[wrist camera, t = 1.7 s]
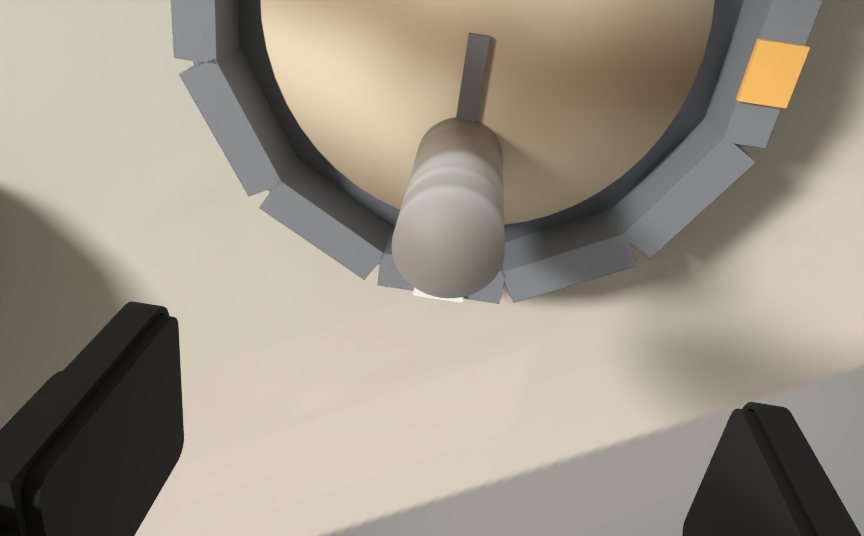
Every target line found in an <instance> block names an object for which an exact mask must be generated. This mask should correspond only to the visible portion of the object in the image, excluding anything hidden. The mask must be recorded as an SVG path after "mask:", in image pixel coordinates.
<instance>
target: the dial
mask: <svg viewBox="0 0 864 536" xmlns="http://www.w3.org/2000/svg"><path fill="white" fill-rule="evenodd" d="M260 1H261V20H262V26H263V31H264V37H265V43H266V48H267V52H268V55H269V59H270V62H271V65H272V69H273V72H274V75H275V78H276V81H277V83H278V85H279V87H280V90H281V92H282V94H283V97H284V99H285V101H286V103H287V105H288V107H289V109H290V110H291V112H292V114H293V115H294V117H295V119H296V120H297V122H298V124H299V126H300V127H301V129H302V130H303V131H304V133H305V134H306V135H307V137H308V138H309V139H310V141H311V142H312V143H313V144H314V146H315V147H316V148H317V150H318V151H319V152H320V153H321V154H322V155H323V156H324V157H325V158H326V159H327V160H328V161H329V162H330V163H331V164H332V165H333V166H334V167H335V168H336V169H337V170H338V171H339V172H341V173H342V174H343V175H344V176H345V177H347V178H348V179H349V180H350V181H352V182H353V183H354V184H355V185H357V186H358V187H360V188H361V189H363V190H365V191H366V192H368V193H369V194H371V195H372V196H374V197H375V198H377V199H379V200H381V201H383V202H385V203H387V204H389V205H391V206H394V207H396V208H398V209H400V213H399V216H398V220H397V223H396V227H395V230H394V233H393V238H392V255H393V259H394V262H395V265H396V267H397V269H398V271H399V272H400V274H401V275H402V276H403V278H404V279H405V280H406V281H407V282H408V283H409V284H411V285H412V286H413V287H414V288H416V289H418V290H419V291H421V292H423V293H426V294H428V295H431V296H435V297H440V298H460V297H465V296H469V295H471V294H474V293H476V292H478V291H480V290H482V289H483V288H485V287H486V286H487V285H488V284H490V283H491V282H492V281H493V279H494V278H495V277H496V276H497V274H498V273H499V271H500V269H501V267H502V264H503V261H504V256H505V232H504V225H505V224H512V223H519V222H526V221H530V220H533V219H537V218H541V217H545V216H548V215H552V214H554V213H557V212H559V211H562V210H564V209H567V208H569V207H572V206H574V205H576V204H578V203H580V202H582V201H584V200H586V199H588V198H589V197H591V196H593V195H595V194H597V193H599V192H600V191H602V190H603V189H604V188H606V187H607V186H609V185H610V184H612V183H613V182H614V181H616V180H617V179H619V178H620V177H622V176H623V175H624V174H625V173H626V172H627V171H628V170H629V169H630V168H632V167H633V166H634V165H635V164H636V163H637V162H638V161H639V160H641V159H642V158H643V157H644V156H645V154H646V153H647V152H648V151H649V150H650V149H651V148H652V146H653V145H654V144H655V143H656V142H657V141H658V140H659V139H660V137H661V136H662V135H663V133H664V132H665V131H666V129H667V128H668V126H669V125H670V123H671V122H672V121H673V119H674V118H675V116H676V115H677V113H678V112H679V110H680V108H681V106H682V104H683V102H684V101H685V99H686V97H687V95H688V93H689V91H690V89H691V87H692V86H693V83H694V80H695V78H696V75H697V73H698V70H699V67H700V65H701V62H702V60H703V57H704V53H705V49H706V45H707V41H708V38H709V34H710V30H711V25H712V17H713V9H714V1H715V0H260Z"/></svg>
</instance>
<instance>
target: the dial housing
mask: <svg viewBox="0 0 864 536" xmlns="http://www.w3.org/2000/svg"><path fill="white" fill-rule="evenodd" d="M822 1H823V0H715V1H714V9H713V17H712V25H711V30H710V34H709V38H708V41H707V45H706V49H705V53H704V57H703V60H702V62H701V65H700V67H699V70H698V73H697V75H696V78H695V80H694V83H693V86H692V87H691V89H690V91H689V93H688V95H687V97H686V99H685V101H684V102H683V104H682V106H681V108H680V110H679V112H678V113H677V115H676V116H675V118H674V119H673V121H672V122H671V123H670V125H669V126H668V128H667V129H666V131H665V132H664V133H663V135H662V136H661V137H660V139H659V140H658V141H657V142H656V143H655V144H654V145H653V146H652V148H651V149H650V150H649V151H648V152H647V153H646V154H645V156H644V157H643V158H642V159H641V160H639V161H638V162H637V163H636V164H635V165H634V166H633V167H632V168H630V169H629V170H628V171H627V172H626V173H625V174H624V175H623V176H622V177H620V178H619V179H617V180H616V181H614V182H613V183H612V184H610V185H609V186H607V187H606V188H604V189H603V190H602V191H600V192H599V193H597V194H595V195H593V196H591V197H589V198H588V199H586V200H584V201H582V202H580V203H578V204H576V205H574V206H572V207H569V208H567V209H564V210H562V211H559V212H557V213H554V214H552V215H548V216H545V217H541V218H537V219H533V220H530V221H526V222H519V223H512V224H505V225H504V232H505V256H504V261H503V264H502V267H501V269H500V271H499V273H498V274H497V276H496V277H495V278H494V279H493V281H492V282H491V283H490V284H488V285H487V286H486V287H485V288H483V289H482V290H480V291H478V292H476V293H474V294H471V295H469V296H465V297H460V298H440V297H435V296H431V295H428V294H426V293H423V292H421V291H419V290H418V289H416V288H414V287H413V286H412V285H411V284H409V283H408V282H407V281H406V280H405V279H404V278H403V276H402V275H401V274H400V272H399V271H398V269H397V267H396V265H395V262H394V259H393V255H392V238H393V233H394V230H395V227H396V223H397V220H398V216H399V213H400V209H398V208H396V207H394V206H391V205H389V204H387V203H385V202H383V201H381V200H379V199H377V198H375V197H374V196H372V195H371V194H369V193H368V192H366V191H365V190H363V189H361V188H360V187H358V186H357V185H355V184H354V183H353V182H352V181H350V180H349V179H348V178H347V177H345V176H344V175H343V174H342V173H341V172H339V171H338V170H337V169H336V168H335V167H334V166H333V165H332V164H331V163H330V162H329V161H328V160H327V159H326V158H325V157H324V156H323V155H322V154H321V153H320V152H319V151H318V150H317V148H316V147H315V146H314V144H313V143H312V142H311V141H310V139H309V138H308V137H307V135H306V134H305V133H304V131H303V130H302V129H301V127H300V126H299V124H298V122H297V120H296V119H295V117H294V115H293V114H292V112H291V110H290V109H289V107H288V105H287V103H286V101H285V99H284V97H283V94H282V92H281V90H280V87H279V85H278V83H277V81H276V78H275V75H274V72H273V69H272V65H271V62H270V59H269V55H268V52H267V48H266V43H265V37H264V31H263V26H262V20H261V1H260V0H171V11H172V30H173V49H174V58H178V59H184V60H191V61H193V63H194V66H192V67H190V68H189V69H187V70H185V71H184V72H182V73H180V74H179V75H180V77H181V79H182V81H183V82H184V84H185V86H186V88H187V89H188V91H189V93H190V95H191V96H192V98H193V100H194V102H195V103H196V105H197V107H198V109H199V110H200V112H201V114H202V116H203V117H204V119H205V121H206V123H207V124H208V126H209V128H210V130H211V131H212V133H213V135H214V137H215V138H216V140H217V142H218V144H219V145H220V147H221V149H222V151H223V152H224V154H225V156H226V158H227V159H228V161H229V163H230V165H231V166H232V168H233V170H234V172H235V173H236V175H237V177H238V179H239V180H240V182H241V184H242V186H243V187H244V189H245V191H246V193H247V194H248V196H252V195H255V194H257V193H260V192H263V191H265V190H269V191H270V193H269V195H268V196H267V197H266V199H265V200H264V202H263V203H262V204H261V206H260V207H259V208H260V209H261V210H263V211H264V212H266V213H267V214H269V215H270V216H272V217H273V218H275V219H276V220H278V221H279V222H280V223H282V224H283V225H285V226H286V227H288V228H289V229H291V230H292V231H294V232H295V233H297V234H298V235H299V236H301V237H302V238H304V239H305V240H307V241H308V242H310V243H311V244H313V245H314V246H315V247H317V248H318V249H320V250H321V251H323V252H324V253H326V254H327V255H329V256H330V257H332V258H333V259H334V260H336V261H337V262H339V263H340V264H342V265H343V266H345V267H346V268H348V269H349V270H350V271H352V272H353V273H355V274H356V275H358V276H359V277H361V278H362V279H364V280H365V279H366V277H367V276H368V275H369V274H370V273H371V271H372V270H373V269H374V268H375V267H376V266H377V264H379V265H380V266H379V275H378V285H380V286H386V287H393V288H399V289H406V290H412V291H414V293H413V295H415V296H421V297H428V298H434V299H440V300H447V301H453V302H460V303H462V301H463V298H464V299H470V300H477V301H483V302H490V303H496V304H499V303H500V298H501V294H502V289H503V284H504V283H505V284H506V286H507V288H508V291H509V293H510V296H511V298H512V301H513V303H515V302H518V301H522V300H525V299H528V298H532V297H535V296H538V295H542V294H545V293H548V292H552V291H555V290H558V289H562V288H565V287H568V286H572V285H575V284H578V283H582V282H585V281H588V280H592V279H595V278H598V277H602V276H605V275H608V274H612V273H615V272H618V271H621V270H625V269H628V268H631V267H635V266H636V262H635V259H634V256H633V253H632V250H631V246H633V245H634V246H635V247H636V248H637V249H639V250H640V251H641V252H643V253H644V254H645V255H646V256H648V257H649V258H651V257H652V256H653V255H654V254H655V253H657V252H658V251H659V250H660V249H661V248H662V247H663V246H664V245H665V244H666V243H668V242H669V241H670V240H671V239H672V238H673V237H674V236H675V235H676V234H677V233H678V232H680V231H681V230H682V229H683V228H684V227H685V226H686V225H687V224H688V223H689V222H691V221H692V220H693V219H694V218H695V217H696V216H697V215H698V214H699V213H700V212H702V211H703V210H704V209H705V208H706V207H707V206H708V205H709V204H710V203H711V202H713V201H714V200H715V199H716V198H717V197H718V196H719V195H720V194H721V193H722V192H724V191H725V190H726V189H727V188H728V187H729V186H730V185H731V184H732V183H733V182H735V181H736V180H737V179H738V178H739V177H740V176H741V175H742V174H743V173H744V172H745V171H747V170H748V169H749V168H750V167H751V166H752V165H753V164H754V163H755V161H754V160H753V159H752V158H751V157H750V156H749V155H748V154H747V153H746V152H745V151H744V150H743V149H742V148H743V147H744V146H745V145H748V146H754V147H761V148H766V145H767V143H768V140H769V138H770V135H771V132H772V130H773V127H774V125H775V122H776V120H777V117H778V114H779V112H780V109H781V108H787V105H788V103H789V100H790V98H791V95H792V93H793V90H794V87H795V85H796V82H797V80H798V77H799V75H800V72H801V70H802V67H803V65H804V62H805V59H806V57H807V54H808V52H809V49H810V47H808V46H805V45H806V42H807V40H808V37H809V35H810V32H811V29H812V27H813V24H814V22H815V19H816V16H817V14H818V11H819V9H820V6H821V4H822Z"/></svg>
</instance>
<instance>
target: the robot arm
mask: <svg viewBox="0 0 864 536" xmlns="http://www.w3.org/2000/svg"><path fill="white" fill-rule="evenodd" d="M183 443H184V430H183V409H182V389H181V369H180V349H179V329H178V321H177V319H176V318H175V317H171V316H169V313H168V310H167V308H165V307H163V306H157V305H151V304H145V303H139V302H129V303H127V304H126V305H125V306H124V307H123V308H122V309H121V310H120V311H119V312H118V313H117V314H116V315H115V316H114V317H113V319H112V320H111V321H110V322H109V323H108V324H107V325H106V326H105V327H104V328H103V329H102V330H101V331H100V332H99V333H98V334H97V335H96V337H95V338H94V339H93V340H92V341H91V342H90V343H89V344H88V345H87V346H86V347H85V348H84V349H83V350H82V351H81V352H80V353H79V355H78V356H77V357H76V358H75V359H74V360H73V361H72V362H71V363H70V364H69V365H68V366H67V367H66V368H65V369H64V370H63V371H61V372H57V373H56V374H55V375H54V376H52V377H51V378H50V379H49V380H48V381H47V382H46V383H45V384H44V385H43V386H42V387H41V388H40V389H39V390H38V391H37V392H36V393H35V394H34V395H33V397H32V398H31V399H30V400H29V401H28V402H27V403H26V404H25V405H24V406H23V407H22V408H21V409H20V410H19V411H18V412H17V413H16V414H15V415H14V416H13V417H12V418H11V420H10V421H9V422H8V423H7V424H6V425H5V426H4V427H3V428H2V429H1V430H0V536H134V535H135V533H136V532H137V530H138V528H139V527H140V525H141V523H142V522H143V520H144V518H145V516H146V515H147V513H148V511H149V510H150V508H151V506H152V504H153V503H154V501H155V499H156V498H157V496H158V494H159V492H160V491H161V489H162V487H163V486H164V484H165V482H166V480H167V479H168V477H169V475H170V474H171V472H172V470H173V468H174V467H175V465H176V463H177V462H178V460H179V458H180V455H181V452H182V448H183ZM683 536H861V534H860V533H859V531H858V529H857V527H856V526H855V524H854V522H853V520H852V519H851V517H850V515H849V513H848V512H847V510H846V508H845V506H844V505H843V503H842V502H841V499H840V498H839V496H838V494H837V492H836V491H835V489H834V487H833V485H832V484H831V482H830V480H829V478H828V477H827V475H826V473H825V471H824V470H823V468H822V466H821V464H820V463H819V461H818V459H817V457H816V456H815V454H814V452H813V450H812V449H811V447H810V445H809V444H808V442H807V440H806V438H805V437H804V435H803V433H802V431H801V429H800V428H799V426H798V424H797V423H796V421H795V419H794V417H793V416H792V414H791V412H790V411H789V410H788V409H787V408H784V407H779V406H773V405H767V404H761V403H755V402H749V403H747V404H746V405H745V406H744V407H743V409H735V410H734V411H733V412H732V414H731V416H730V418H729V420H728V422H727V425H726V427H725V429H724V432H723V434H722V436H721V438H720V441H719V443H718V446H717V448H716V450H715V453H714V455H713V457H712V459H711V461H710V464H709V466H708V468H707V471H706V473H705V475H704V478H703V480H702V482H701V484H700V487H699V489H698V491H697V494H696V496H695V498H694V501H693V503H692V505H691V507H690V510H689V512H688V514H687V517H686V519H685V522H684V526H683Z"/></svg>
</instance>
